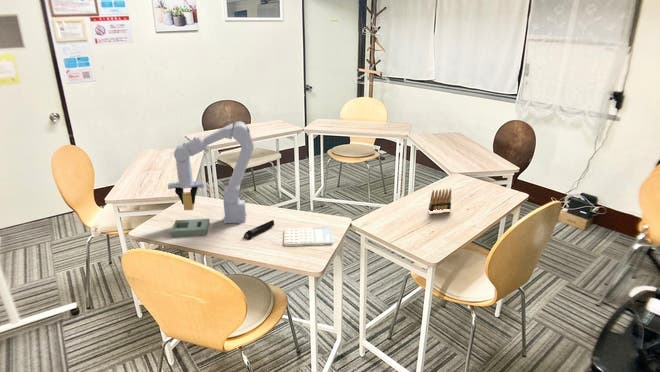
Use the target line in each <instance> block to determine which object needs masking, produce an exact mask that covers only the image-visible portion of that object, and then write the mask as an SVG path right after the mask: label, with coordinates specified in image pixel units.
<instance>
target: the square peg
mask: <svg viewBox="0 0 660 372" xmlns="http://www.w3.org/2000/svg"><path fill="white" fill-rule="evenodd" d="M183 192H184V193H183V195H182V197H183V204H182V206H183V211H193V210H194V209H195V203H194V204H192V196H191V192H190V191H183Z"/></svg>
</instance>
